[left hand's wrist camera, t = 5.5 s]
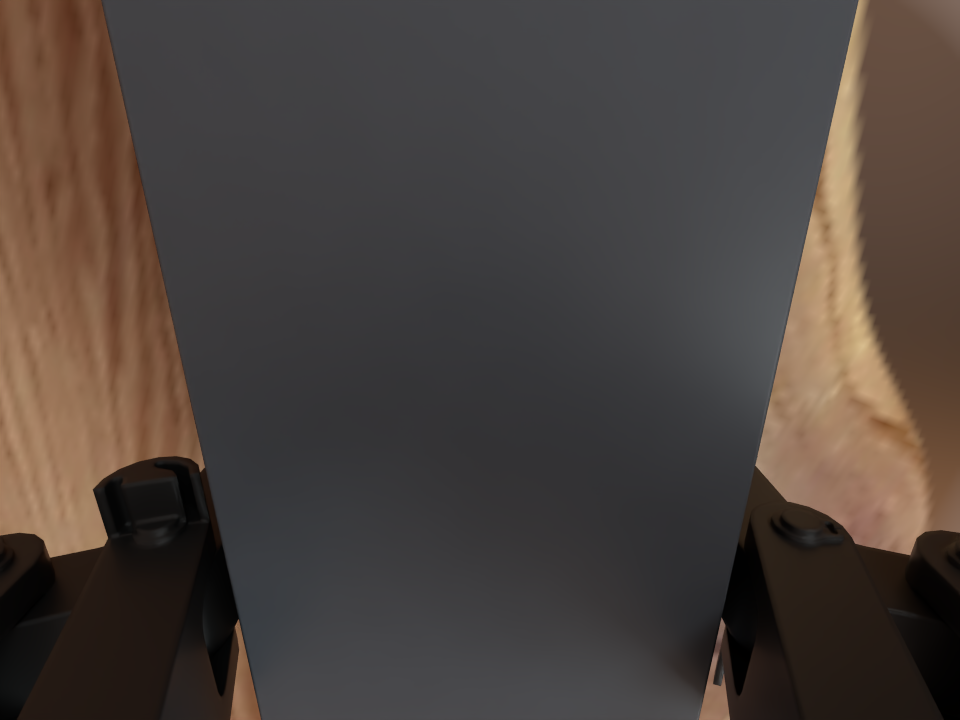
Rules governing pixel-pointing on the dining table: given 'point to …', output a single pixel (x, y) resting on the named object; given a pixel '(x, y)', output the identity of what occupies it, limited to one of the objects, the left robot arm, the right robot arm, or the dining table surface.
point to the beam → (479, 327)
